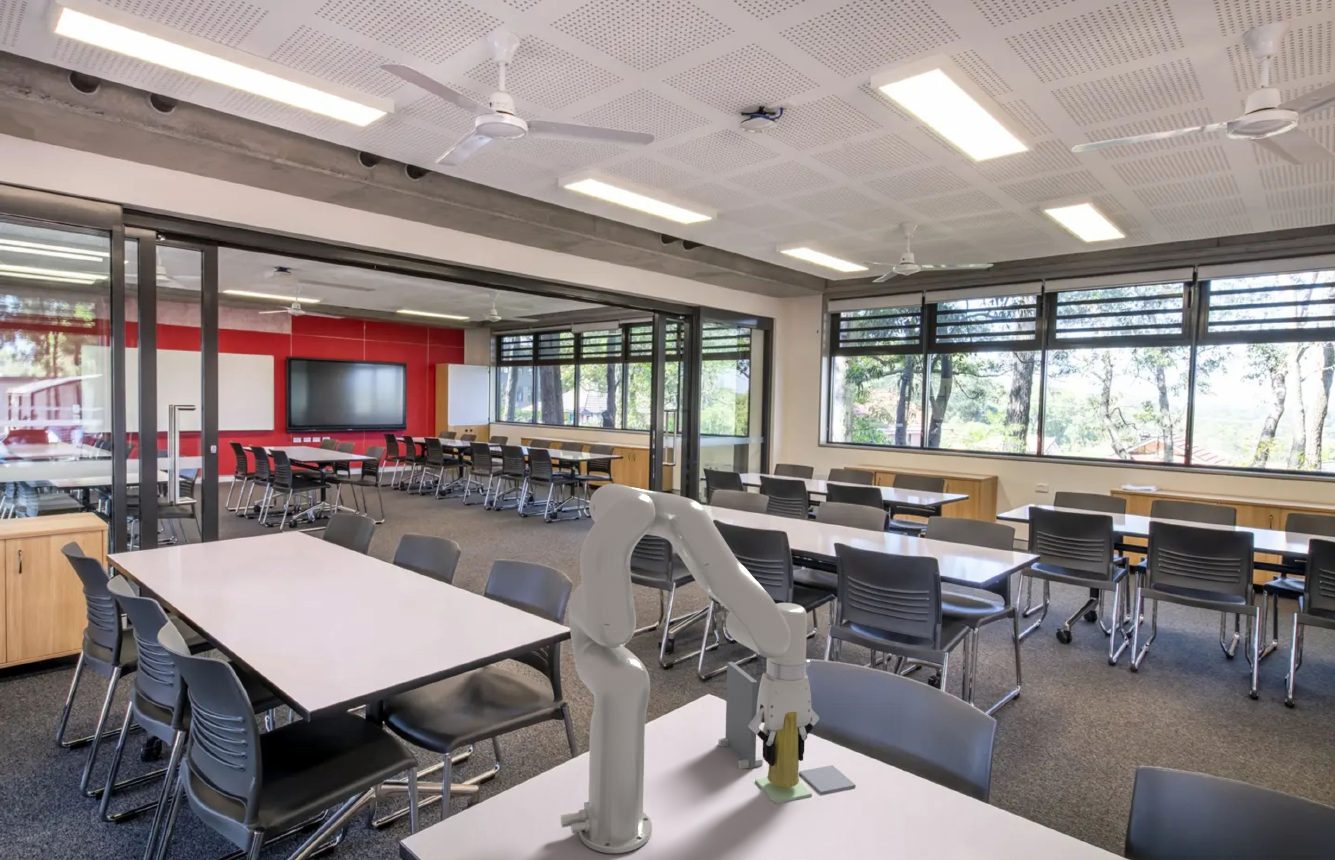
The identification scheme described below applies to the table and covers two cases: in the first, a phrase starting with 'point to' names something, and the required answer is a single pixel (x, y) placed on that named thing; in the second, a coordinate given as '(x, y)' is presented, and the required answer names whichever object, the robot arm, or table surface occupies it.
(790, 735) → the vase
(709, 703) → the table surface
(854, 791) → the table surface
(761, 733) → the robot arm
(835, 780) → the pad slate
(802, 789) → the pad sage
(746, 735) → the screen
